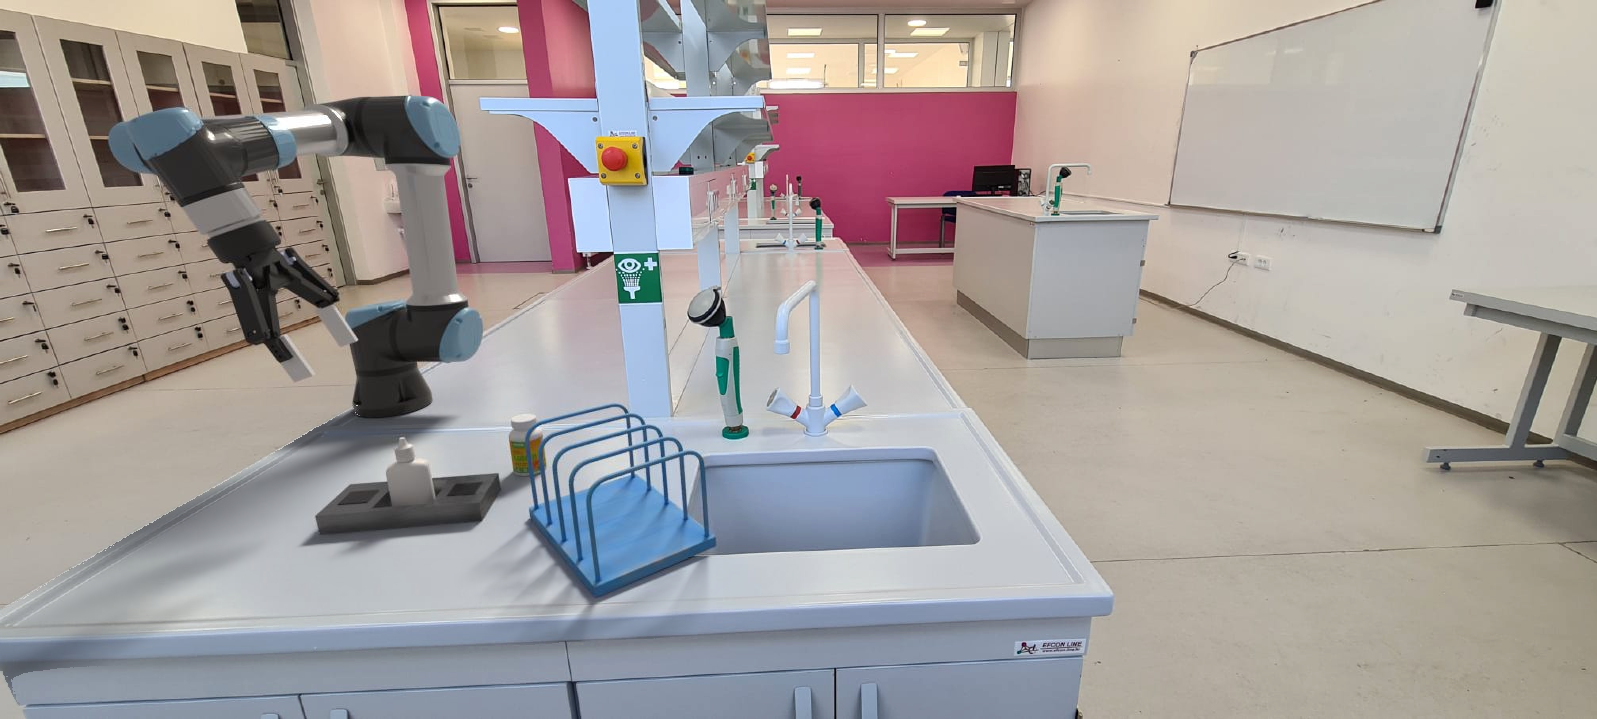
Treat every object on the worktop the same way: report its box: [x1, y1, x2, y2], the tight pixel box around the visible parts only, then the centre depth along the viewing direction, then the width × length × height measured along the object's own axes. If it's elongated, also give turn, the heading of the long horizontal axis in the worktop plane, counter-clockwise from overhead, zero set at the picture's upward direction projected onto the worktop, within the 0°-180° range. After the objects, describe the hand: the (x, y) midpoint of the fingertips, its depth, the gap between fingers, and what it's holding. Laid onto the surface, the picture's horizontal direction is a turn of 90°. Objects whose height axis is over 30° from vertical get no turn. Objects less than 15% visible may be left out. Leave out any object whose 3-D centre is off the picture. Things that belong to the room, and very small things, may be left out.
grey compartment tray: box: [314, 472, 502, 536], centre depth 99 cm, size 10×22×3 cm, turn 99°
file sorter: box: [525, 402, 717, 598], centre depth 91 cm, size 25×17×15 cm
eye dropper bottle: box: [385, 436, 436, 507], centre depth 98 cm, size 4×6×12 cm
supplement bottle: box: [508, 413, 547, 477], centre depth 111 cm, size 5×5×10 cm
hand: (328, 360), depth 98 cm, fingers open, 13 cm apart
